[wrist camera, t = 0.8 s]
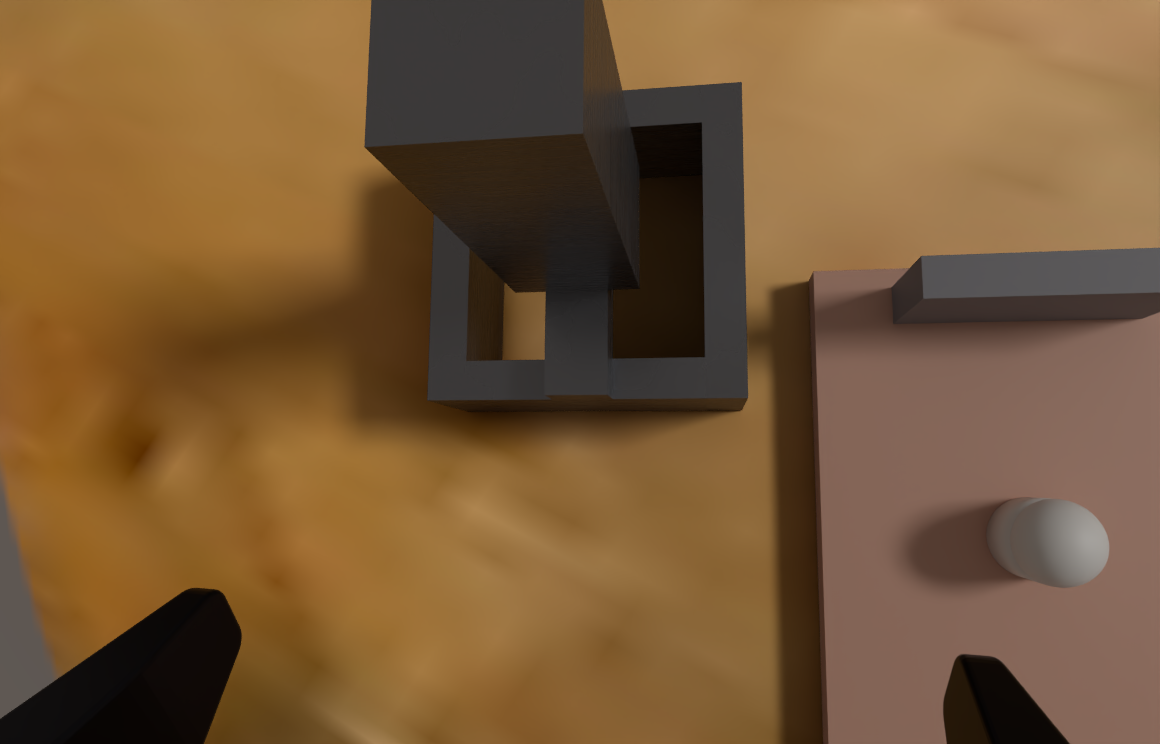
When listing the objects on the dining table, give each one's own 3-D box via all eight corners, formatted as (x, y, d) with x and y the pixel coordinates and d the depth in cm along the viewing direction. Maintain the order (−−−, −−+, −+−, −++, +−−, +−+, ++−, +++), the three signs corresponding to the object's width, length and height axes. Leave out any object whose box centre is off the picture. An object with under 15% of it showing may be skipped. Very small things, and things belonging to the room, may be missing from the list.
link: (741, 410, 22) (787, 317, 9) (468, 411, 23) (183, 332, 11) (736, 140, 23) (771, -269, 10) (475, 156, 24) (224, -193, 12)
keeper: (1256, 835, 19) (1400, 928, 15) (825, 804, 20) (852, 881, 17) (1200, 268, 21) (1314, 219, 17) (808, 280, 22) (830, 238, 18)
